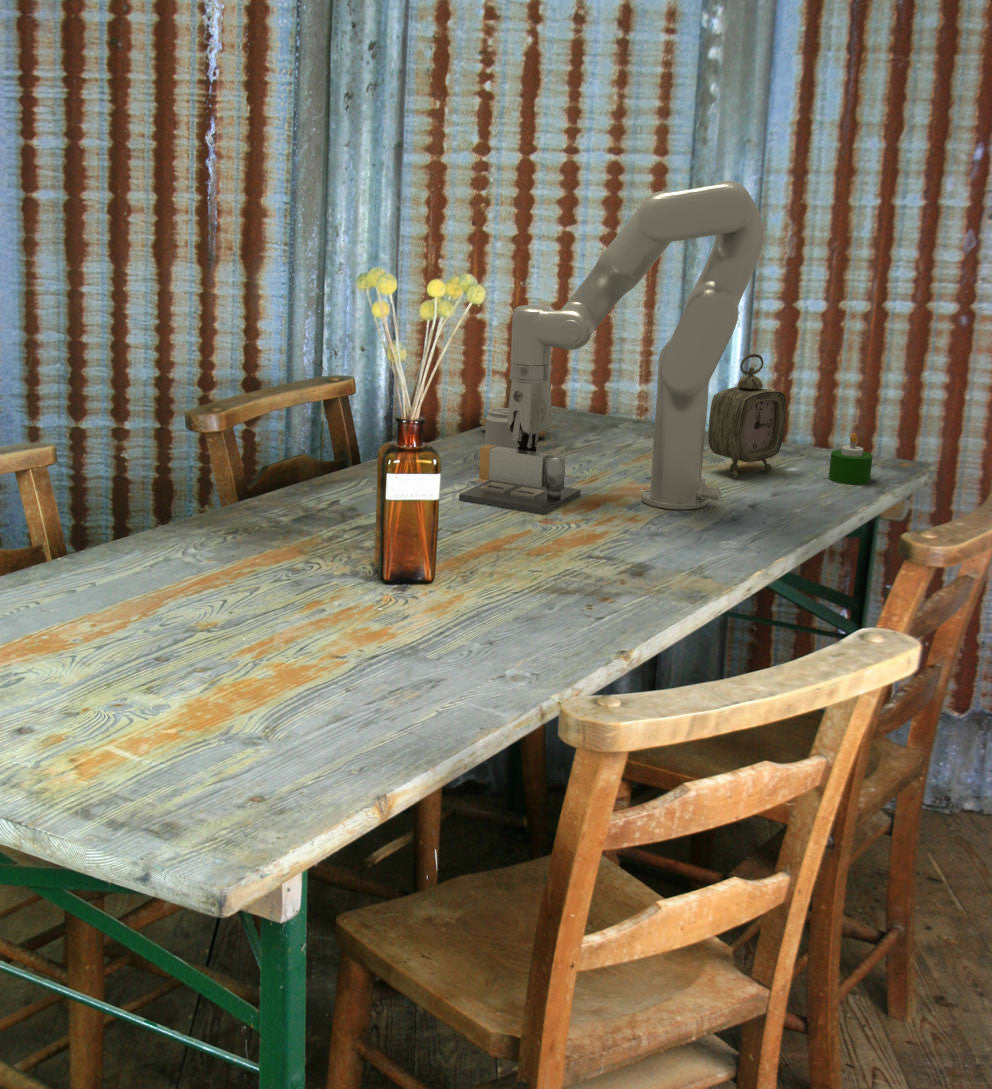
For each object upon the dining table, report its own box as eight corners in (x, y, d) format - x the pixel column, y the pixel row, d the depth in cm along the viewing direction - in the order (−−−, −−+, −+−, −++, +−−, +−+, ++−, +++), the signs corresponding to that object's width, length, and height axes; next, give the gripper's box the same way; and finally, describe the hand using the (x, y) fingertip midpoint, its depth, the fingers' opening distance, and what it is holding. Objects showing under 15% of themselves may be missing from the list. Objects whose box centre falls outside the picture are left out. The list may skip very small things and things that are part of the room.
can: (520, 471, 273) (522, 414, 270) (483, 470, 274) (485, 413, 270) (520, 463, 281) (522, 407, 277) (484, 461, 281) (486, 405, 277)
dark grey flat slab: (580, 495, 257) (581, 481, 256) (545, 514, 243) (546, 500, 243) (497, 482, 265) (497, 468, 264) (459, 500, 251) (459, 485, 250)
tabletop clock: (734, 481, 271) (745, 359, 264) (701, 472, 278) (711, 353, 270) (780, 472, 280) (791, 354, 272) (746, 463, 287) (757, 347, 279)
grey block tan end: (567, 487, 251) (568, 455, 249) (559, 491, 248) (560, 459, 246) (487, 475, 258) (488, 443, 256) (478, 479, 255) (479, 447, 253)
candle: (835, 473, 281) (840, 426, 278) (874, 479, 277) (880, 432, 274) (823, 480, 274) (828, 433, 272) (862, 487, 270) (868, 439, 268)
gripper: (530, 380, 243) (526, 477, 249) (564, 368, 256) (560, 461, 261) (494, 375, 246) (490, 471, 252) (530, 364, 259) (526, 456, 265)
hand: (526, 466), depth 257 cm, fingers closed
